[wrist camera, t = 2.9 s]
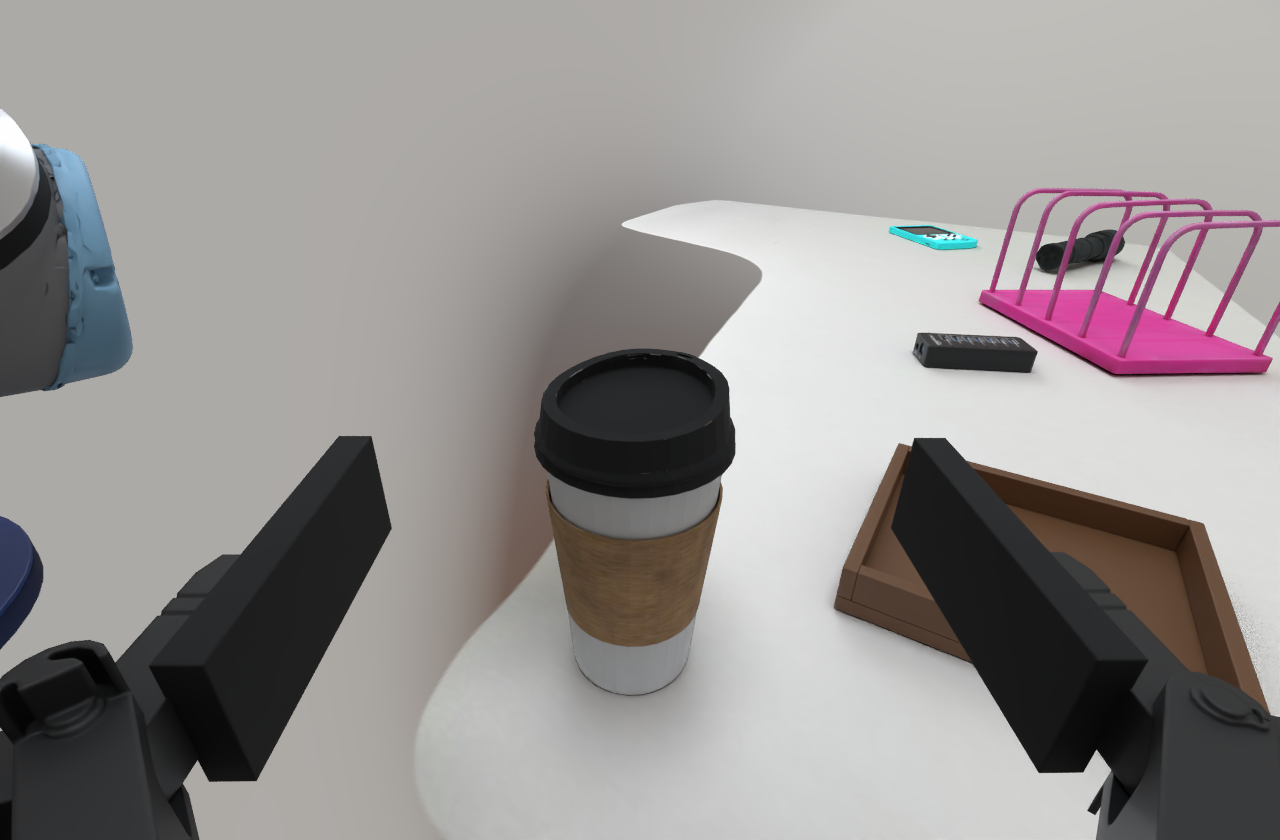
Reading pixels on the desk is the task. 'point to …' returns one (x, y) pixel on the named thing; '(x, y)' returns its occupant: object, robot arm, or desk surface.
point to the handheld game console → (934, 237)
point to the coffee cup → (634, 505)
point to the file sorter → (1132, 298)
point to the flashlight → (1078, 250)
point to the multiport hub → (974, 352)
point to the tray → (1090, 533)
